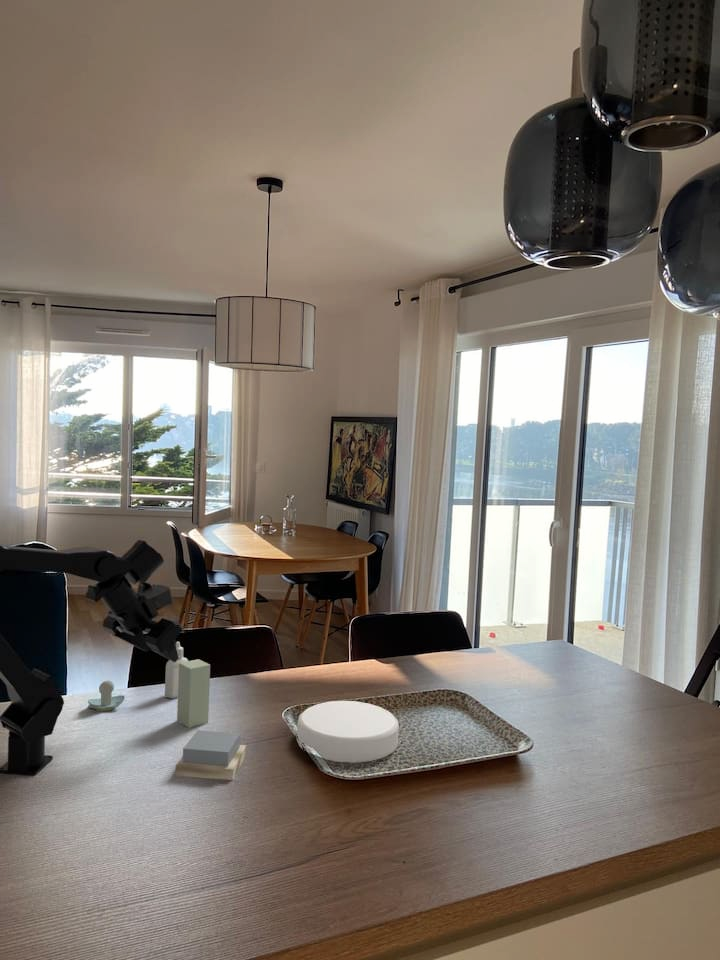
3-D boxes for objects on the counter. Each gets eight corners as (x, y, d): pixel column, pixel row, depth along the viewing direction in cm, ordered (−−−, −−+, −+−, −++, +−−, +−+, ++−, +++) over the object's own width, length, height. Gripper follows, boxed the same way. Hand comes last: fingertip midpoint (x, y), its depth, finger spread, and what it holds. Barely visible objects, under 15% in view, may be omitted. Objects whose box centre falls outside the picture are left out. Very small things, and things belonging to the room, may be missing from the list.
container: (276, 746, 138) (277, 722, 138) (329, 713, 155) (330, 692, 155) (369, 773, 129) (370, 748, 128) (414, 735, 146) (415, 712, 146)
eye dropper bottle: (191, 695, 161) (193, 642, 161) (167, 700, 158) (169, 646, 157) (184, 689, 165) (186, 638, 164) (160, 693, 162) (162, 641, 161)
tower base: (232, 783, 123) (233, 769, 123) (175, 779, 124) (175, 765, 124) (245, 758, 133) (246, 745, 133) (192, 754, 134) (193, 741, 134)
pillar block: (208, 722, 147) (210, 664, 146) (188, 727, 144) (190, 668, 143) (196, 715, 150) (198, 659, 150) (177, 720, 147) (179, 663, 146)
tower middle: (227, 766, 124) (228, 752, 124) (182, 762, 125) (183, 748, 125) (239, 746, 132) (240, 733, 132) (197, 743, 133) (197, 730, 133)
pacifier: (84, 706, 153) (89, 715, 148) (85, 676, 153) (90, 685, 148) (120, 701, 157) (126, 710, 152) (120, 672, 157) (126, 680, 151)
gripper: (182, 579, 136) (218, 635, 144) (124, 564, 147) (161, 616, 155) (140, 622, 129) (180, 678, 137) (83, 603, 141) (124, 656, 149)
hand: (162, 654), depth 145 cm, fingers open, 9 cm apart
